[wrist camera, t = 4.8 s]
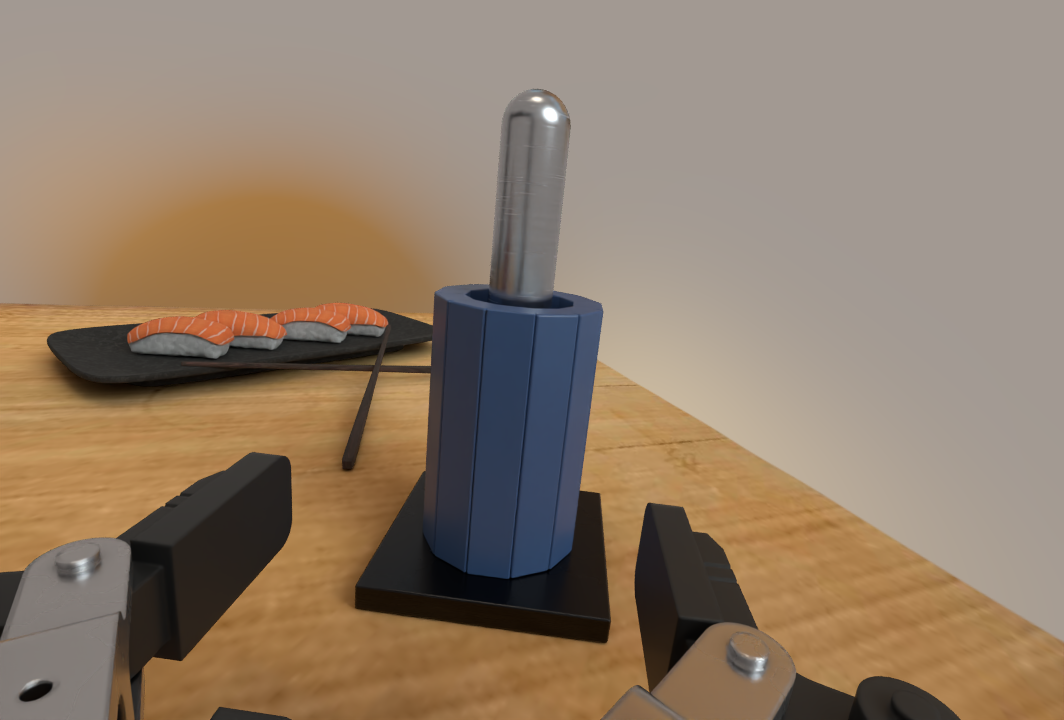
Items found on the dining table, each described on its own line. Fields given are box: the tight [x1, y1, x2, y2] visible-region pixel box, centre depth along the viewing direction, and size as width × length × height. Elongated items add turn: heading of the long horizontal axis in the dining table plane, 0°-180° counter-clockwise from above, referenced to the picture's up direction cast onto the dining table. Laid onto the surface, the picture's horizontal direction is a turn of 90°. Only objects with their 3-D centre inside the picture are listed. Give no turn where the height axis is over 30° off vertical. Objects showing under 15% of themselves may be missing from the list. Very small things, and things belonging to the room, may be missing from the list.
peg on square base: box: [355, 89, 611, 643], centre depth 21 cm, size 9×9×18 cm
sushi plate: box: [47, 303, 433, 469], centre depth 43 cm, size 29×30×4 cm
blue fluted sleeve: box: [423, 284, 603, 579], centre depth 22 cm, size 6×6×10 cm
